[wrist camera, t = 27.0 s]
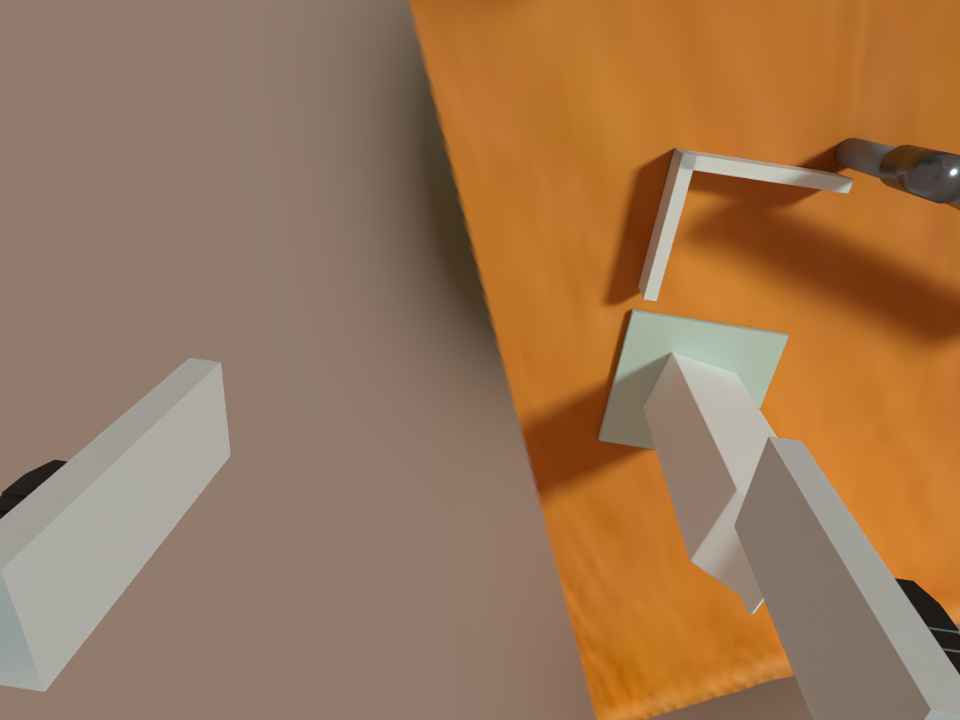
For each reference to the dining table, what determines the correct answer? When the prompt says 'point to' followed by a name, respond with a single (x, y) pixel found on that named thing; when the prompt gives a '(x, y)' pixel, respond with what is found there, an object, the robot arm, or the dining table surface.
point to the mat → (693, 338)
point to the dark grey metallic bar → (923, 173)
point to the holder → (683, 163)
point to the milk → (708, 463)
